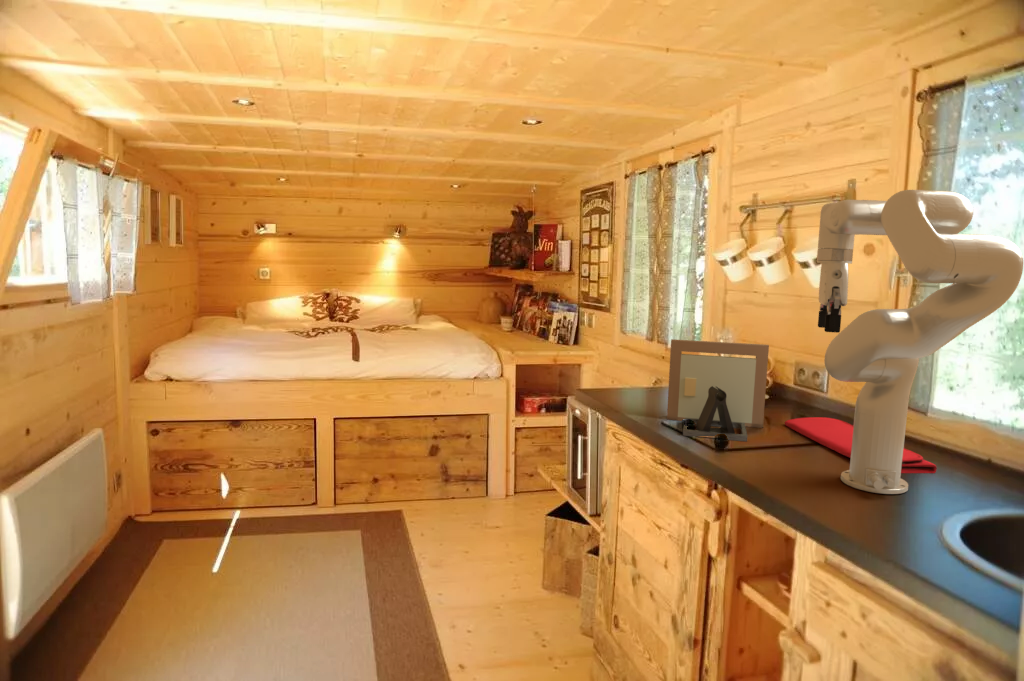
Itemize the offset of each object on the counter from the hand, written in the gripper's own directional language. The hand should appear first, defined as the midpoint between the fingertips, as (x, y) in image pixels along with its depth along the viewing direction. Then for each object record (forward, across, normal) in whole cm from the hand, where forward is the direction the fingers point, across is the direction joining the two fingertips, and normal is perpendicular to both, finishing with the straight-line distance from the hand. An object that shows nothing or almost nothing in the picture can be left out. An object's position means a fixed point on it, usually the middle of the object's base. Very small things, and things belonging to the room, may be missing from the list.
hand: (828, 329), depth 160 cm
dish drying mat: (+31, +10, -10) cm, 34 cm away
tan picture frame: (+30, +22, +24) cm, 44 cm away
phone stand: (+31, +12, +24) cm, 41 cm away
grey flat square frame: (+30, +12, +24) cm, 40 cm away
